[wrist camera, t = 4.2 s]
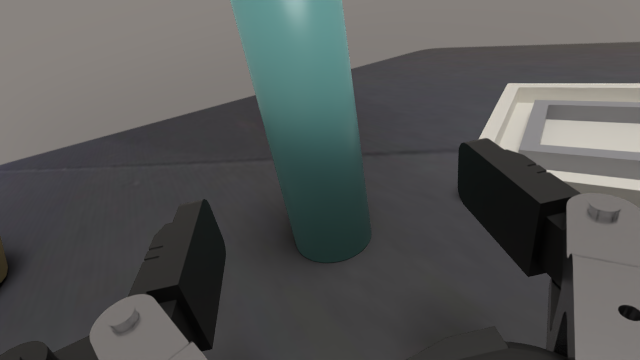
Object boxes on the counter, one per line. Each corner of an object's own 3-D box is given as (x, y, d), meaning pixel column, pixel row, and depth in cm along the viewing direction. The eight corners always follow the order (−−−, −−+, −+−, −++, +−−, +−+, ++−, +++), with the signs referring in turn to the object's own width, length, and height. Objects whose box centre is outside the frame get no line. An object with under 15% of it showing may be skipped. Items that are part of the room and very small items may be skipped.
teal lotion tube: (321, 207, 24) (259, -90, 16) (383, 221, 22) (349, -121, 14) (280, 250, 21) (178, -91, 13) (348, 272, 19) (275, -132, 10)
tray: (505, 106, 33) (507, 83, 32) (719, 113, 26) (732, 83, 25) (462, 198, 22) (463, 168, 21) (812, 257, 15) (841, 215, 14)
